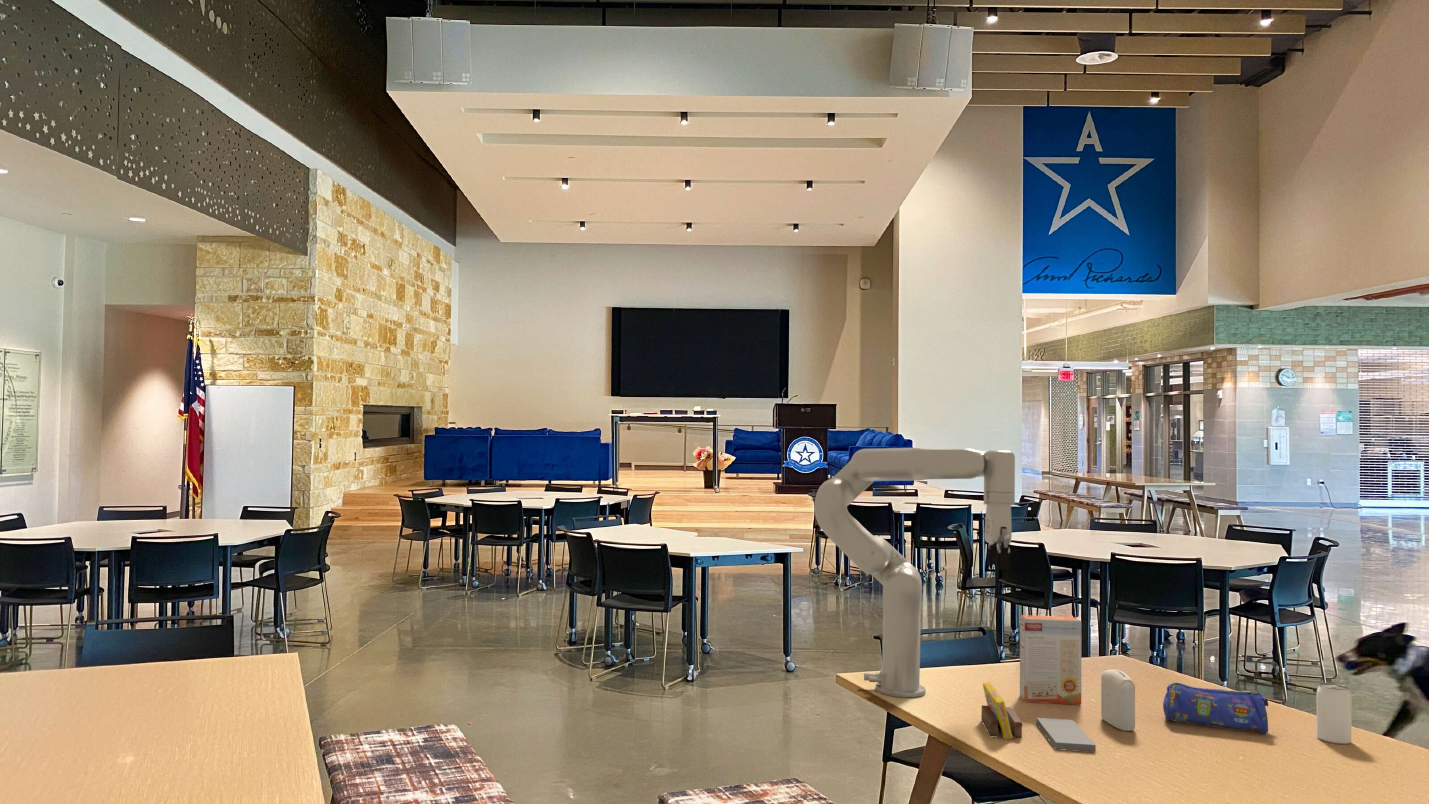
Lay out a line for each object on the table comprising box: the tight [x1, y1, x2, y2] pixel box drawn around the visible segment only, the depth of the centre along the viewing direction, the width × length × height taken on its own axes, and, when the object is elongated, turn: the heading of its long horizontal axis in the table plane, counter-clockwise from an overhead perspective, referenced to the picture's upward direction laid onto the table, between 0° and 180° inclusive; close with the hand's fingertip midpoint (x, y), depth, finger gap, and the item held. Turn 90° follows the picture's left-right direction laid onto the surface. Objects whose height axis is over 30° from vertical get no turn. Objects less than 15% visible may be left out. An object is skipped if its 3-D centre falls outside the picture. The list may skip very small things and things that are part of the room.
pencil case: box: [1162, 682, 1269, 735], centre depth 214 cm, size 22×9×10 cm, turn 66°
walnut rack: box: [980, 704, 1023, 740], centre depth 206 cm, size 7×12×4 cm, turn 173°
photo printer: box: [1100, 669, 1136, 732], centre depth 213 cm, size 10×4×12 cm, turn 2°
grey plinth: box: [1036, 717, 1097, 753], centre depth 201 cm, size 8×18×2 cm, turn 173°
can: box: [1316, 682, 1352, 745], centre depth 206 cm, size 6×6×12 cm
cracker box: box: [1019, 614, 1082, 705], centre depth 232 cm, size 14×6×21 cm, turn 84°
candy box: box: [982, 682, 1013, 740], centre depth 207 cm, size 16×2×8 cm, turn 174°
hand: (998, 566), depth 232 cm, fingers open, 9 cm apart
